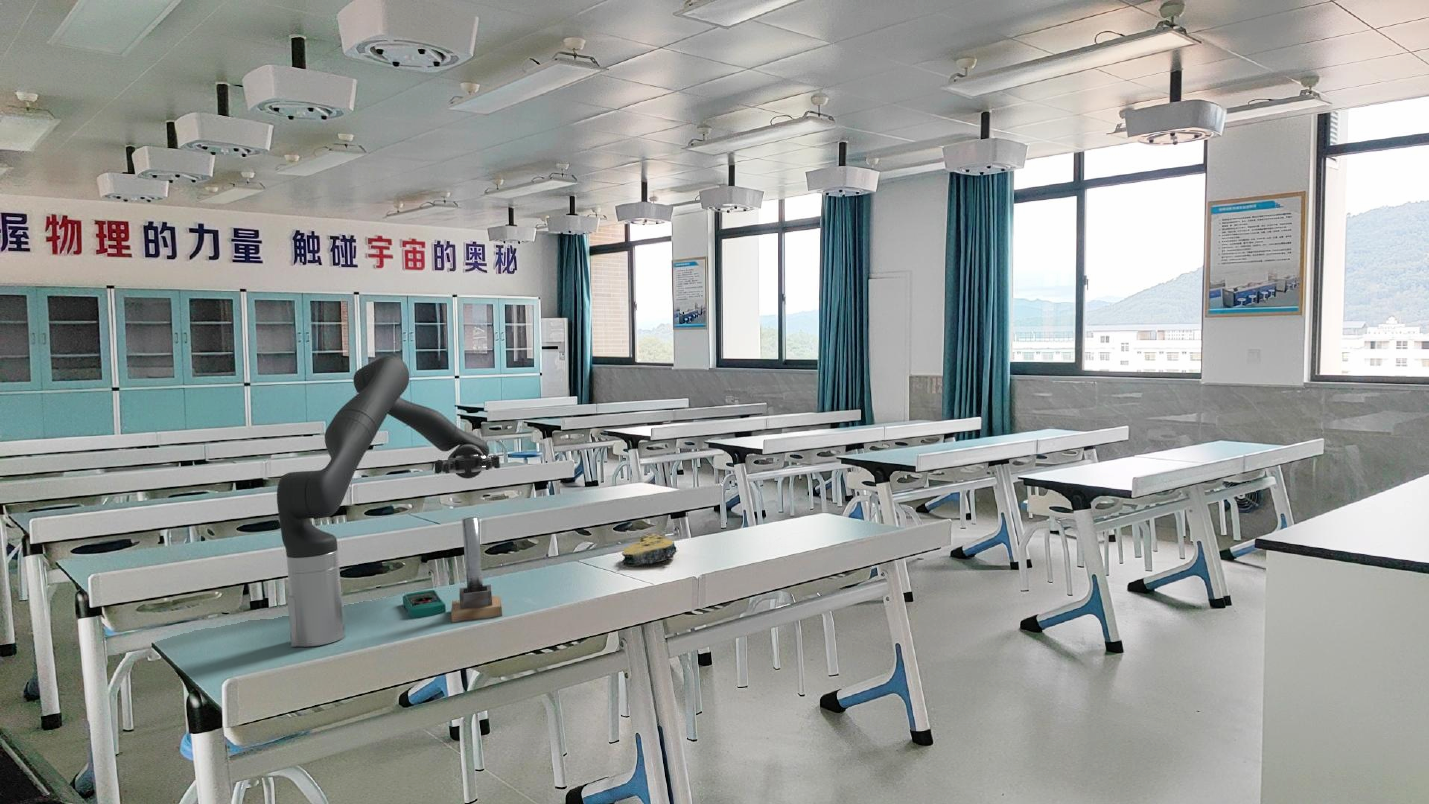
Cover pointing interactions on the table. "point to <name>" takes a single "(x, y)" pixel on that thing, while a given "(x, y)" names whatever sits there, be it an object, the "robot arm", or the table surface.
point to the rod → (472, 554)
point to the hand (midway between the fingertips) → (467, 466)
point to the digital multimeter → (423, 604)
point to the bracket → (476, 605)
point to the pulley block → (649, 550)
